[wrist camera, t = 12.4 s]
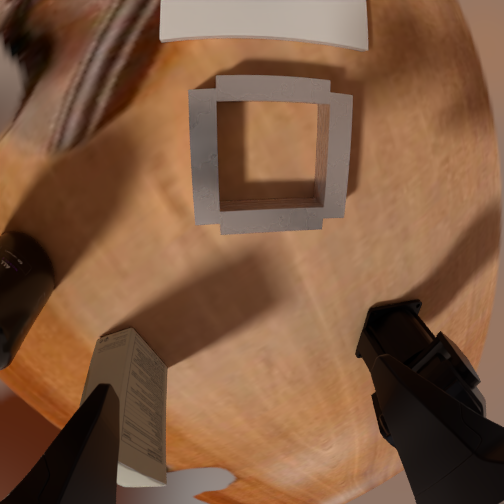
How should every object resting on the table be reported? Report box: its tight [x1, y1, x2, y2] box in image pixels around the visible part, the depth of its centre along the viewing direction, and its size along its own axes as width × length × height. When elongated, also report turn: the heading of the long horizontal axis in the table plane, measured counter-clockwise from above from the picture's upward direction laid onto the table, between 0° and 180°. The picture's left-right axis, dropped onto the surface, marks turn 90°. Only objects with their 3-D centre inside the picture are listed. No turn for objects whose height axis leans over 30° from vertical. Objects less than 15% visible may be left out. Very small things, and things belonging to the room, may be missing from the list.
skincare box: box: [80, 328, 168, 487], centre depth 19 cm, size 6×4×12 cm
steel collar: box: [188, 75, 353, 235], centre depth 17 cm, size 10×10×2 cm
